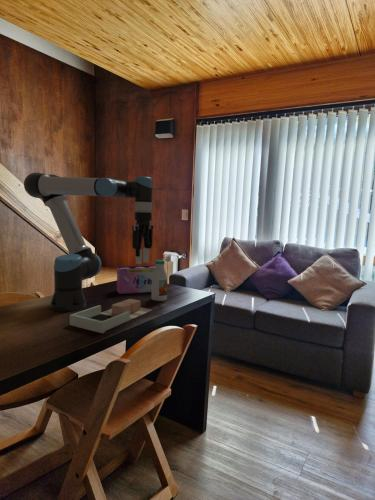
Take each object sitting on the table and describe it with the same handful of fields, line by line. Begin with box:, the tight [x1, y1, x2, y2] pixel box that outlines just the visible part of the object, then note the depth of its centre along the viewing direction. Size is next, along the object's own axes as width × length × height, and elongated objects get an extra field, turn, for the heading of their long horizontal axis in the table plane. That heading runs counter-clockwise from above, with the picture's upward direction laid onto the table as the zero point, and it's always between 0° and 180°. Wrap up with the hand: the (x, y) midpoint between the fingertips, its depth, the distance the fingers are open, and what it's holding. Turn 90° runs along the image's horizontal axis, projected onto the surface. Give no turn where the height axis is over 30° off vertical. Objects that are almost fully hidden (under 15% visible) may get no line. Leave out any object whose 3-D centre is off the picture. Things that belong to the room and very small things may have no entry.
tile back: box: [121, 298, 142, 313], centre depth 153 cm, size 6×6×4 cm
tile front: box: [111, 301, 132, 315], centre depth 148 cm, size 6×6×4 cm
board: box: [100, 307, 153, 321], centre depth 151 cm, size 17×16×1 cm
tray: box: [69, 304, 131, 334], centre depth 136 cm, size 16×16×4 cm
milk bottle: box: [150, 259, 168, 302], centre depth 173 cm, size 8×8×20 cm
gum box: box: [116, 264, 156, 295], centre depth 190 cm, size 24×8×14 cm, turn 112°
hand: (142, 262), depth 158 cm, fingers open, 5 cm apart
